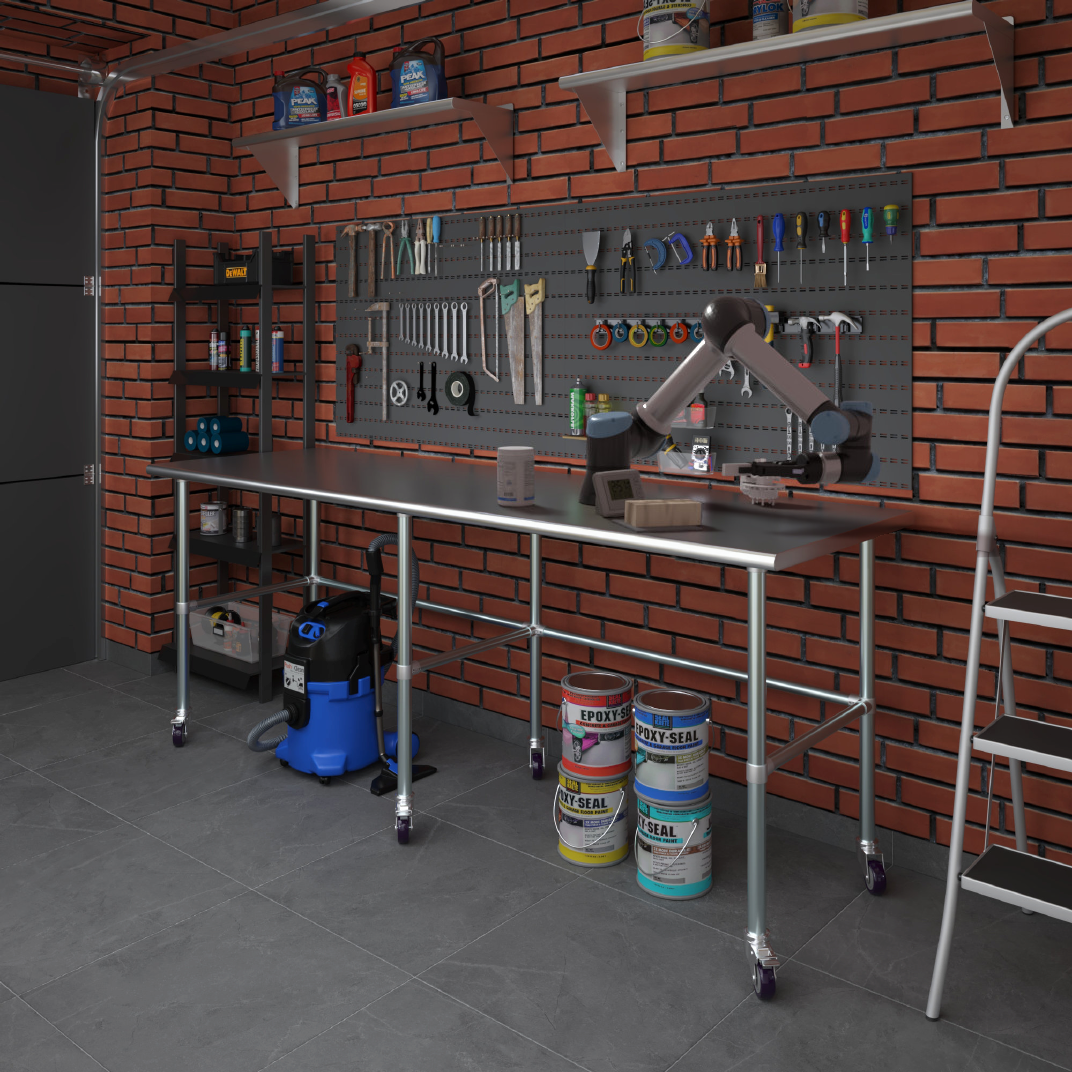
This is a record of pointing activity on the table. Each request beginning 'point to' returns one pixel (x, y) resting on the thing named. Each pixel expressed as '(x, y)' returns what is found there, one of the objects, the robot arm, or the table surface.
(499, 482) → the supplement tub
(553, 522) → the table surface
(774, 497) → the mechanical part
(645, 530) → the charcoal rubber mat
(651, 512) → the beige rectangular block
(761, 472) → the robot arm
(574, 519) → the table surface
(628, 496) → the digital clock
